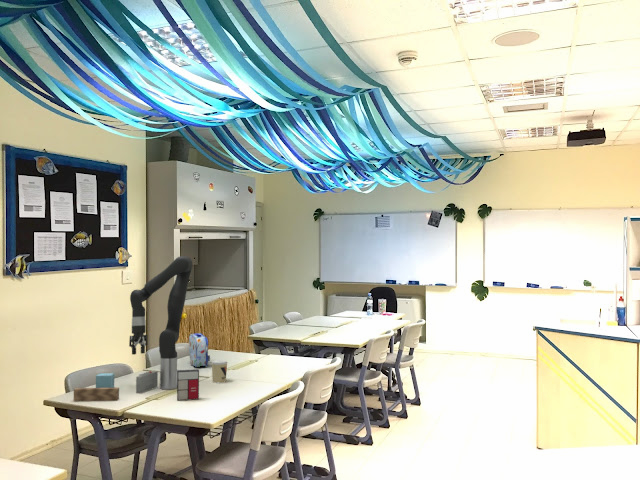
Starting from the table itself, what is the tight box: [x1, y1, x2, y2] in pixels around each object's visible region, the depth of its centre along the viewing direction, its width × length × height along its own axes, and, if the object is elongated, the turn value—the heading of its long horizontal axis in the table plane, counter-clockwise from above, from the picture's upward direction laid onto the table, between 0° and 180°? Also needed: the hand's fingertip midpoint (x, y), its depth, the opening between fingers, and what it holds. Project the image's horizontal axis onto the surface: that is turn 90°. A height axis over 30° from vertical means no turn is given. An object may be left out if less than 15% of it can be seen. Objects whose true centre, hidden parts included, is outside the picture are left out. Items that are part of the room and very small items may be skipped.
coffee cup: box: [211, 359, 228, 383], centre depth 325 cm, size 9×9×12 cm
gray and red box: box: [176, 368, 200, 401], centre depth 286 cm, size 11×4×15 cm, turn 105°
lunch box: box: [188, 332, 211, 368], centre depth 372 cm, size 28×10×22 cm, turn 25°
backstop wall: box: [73, 387, 120, 402], centre depth 292 cm, size 22×22×6 cm
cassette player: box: [135, 370, 159, 394], centre depth 304 cm, size 16×3×10 cm, turn 162°
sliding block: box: [95, 372, 115, 388], centre depth 297 cm, size 8×6×9 cm
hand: (138, 353), depth 307 cm, fingers open, 8 cm apart
